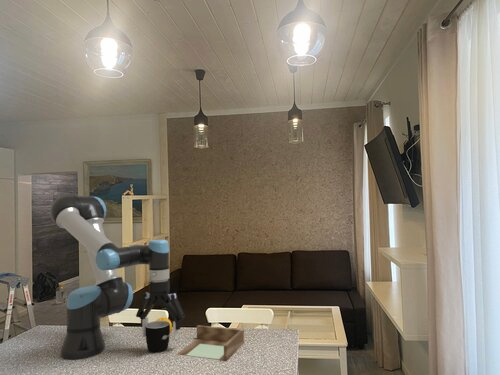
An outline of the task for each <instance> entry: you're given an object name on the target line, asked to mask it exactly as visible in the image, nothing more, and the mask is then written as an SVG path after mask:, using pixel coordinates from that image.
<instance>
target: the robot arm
mask: <svg viewBox="0 0 500 375" xmlns="http://www.w3.org/2000/svg"><path fill="white" fill-rule="evenodd" d="M49 214H50V215H49V216H50V217H51V220H52V221H53V222H54V223H55V225H57V227H59V228H61V229H65V230H66V231H67V232H68V233H69V234H70V235H71V236H73V237H74V239H76V240H77V241H78V242H79V243H80V244H81V245H82V246H84V247H85V248H86V251H87V255H88V259H89V262H90V265H91V268H92V272H93V276H94V280H95V284H94V285H89V286H83V287H80V288H76V289H75V290H73V291H71V292H69V294H68V296H67V298H66V305H65V306H66V307H65V308H66V334H65V337H64V341H63V345H62V346H61V350H60V357H61V358H63V359H65V360H66V359H67V360H80V359H85V358H91V357H94V356H96V355H98V354H101V353H102V352H103V351H104V350H105V348H106V342H105V341H106V340H105V339H104V337H103V333H102V330H101V319H102V318H105V317H108V316H112V315H115V314H120V313H121V312H123V311H125V310H127V309H128V308H130V306H131V305H132V302H133V297H134V291H133V288H132V285H131V284H129V283H128V282H126V281H124V279H123V277H122V276H121V275H119V274H118V273H117V270H118V269H123V268H128V267H133V266H137V265H139V266H140V265H148V270H149V271H148V272H149V273H148V274H149V278H148V279H149V281H150V282H149V285H148V286H149V291H146V292H144V293H142V299H141V302H140V304H139V307H138V309H137V312H136V314H135V316H136V318H139V319H140V327H141V328H142V337H143V338H146V332H145V326H146V324H148V323H149V317H148V315H149V314H150V312H151V311H152V310H153V308H154V307H155V306H160V307H162V306H163V307H164V308H166V310H167V311H168V313H169V314H170V315H171V316H170V317H172V318H173V320H174V321H172V331H173V332H172V333H173V334H172V335H173V340H177V339H179V338H180V330H181V321H183V320H184V319H185V318H186V315H185V312H184V310H183V308H182V306H181V304H180V301H179V299H178V294H177V292H174V293H170V287H171V285H170V284H171V283H170V282H171V281H170V248H169V247H170V246H169V241H168V240H167V239H153V240H149V241H148V245H147V244H144V245H143V244H142V245H140V244H133V245H132V244H131V245H129V246H123V247H118V246H117V245H116V244H114V243H113V242H112V241H111V239H108V237H106V235H105V231H104V228H103V223H104V221H105V218H106V215H107V207H106V204H105V202H104V201H103V199H102V198H100V197H98V196H93V195H62V196H60V197H58V198H56V199H55V200H54V201H53V202H52V204H51V206H50V211H49ZM149 299H150V301H149ZM148 302H149V303H148ZM147 304H148V305H147Z"/></svg>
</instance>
